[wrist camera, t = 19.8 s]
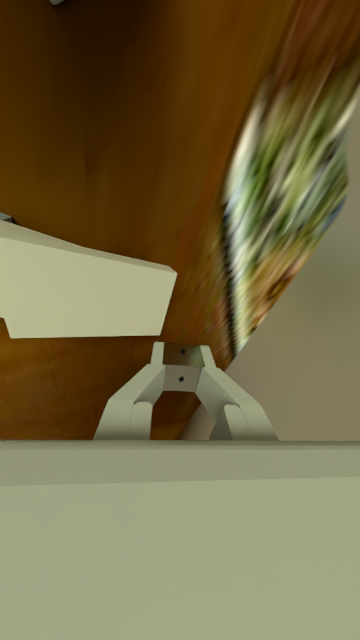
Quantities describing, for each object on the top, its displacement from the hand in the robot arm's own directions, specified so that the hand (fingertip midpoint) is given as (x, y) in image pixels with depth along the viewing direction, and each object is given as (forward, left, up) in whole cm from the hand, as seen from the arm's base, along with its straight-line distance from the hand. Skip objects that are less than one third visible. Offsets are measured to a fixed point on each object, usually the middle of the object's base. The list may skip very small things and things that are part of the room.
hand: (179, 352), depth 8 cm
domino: (-1, 0, -6) cm, 6 cm away
